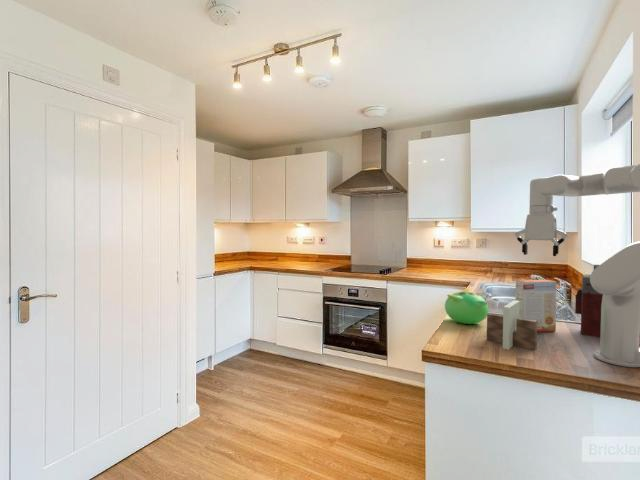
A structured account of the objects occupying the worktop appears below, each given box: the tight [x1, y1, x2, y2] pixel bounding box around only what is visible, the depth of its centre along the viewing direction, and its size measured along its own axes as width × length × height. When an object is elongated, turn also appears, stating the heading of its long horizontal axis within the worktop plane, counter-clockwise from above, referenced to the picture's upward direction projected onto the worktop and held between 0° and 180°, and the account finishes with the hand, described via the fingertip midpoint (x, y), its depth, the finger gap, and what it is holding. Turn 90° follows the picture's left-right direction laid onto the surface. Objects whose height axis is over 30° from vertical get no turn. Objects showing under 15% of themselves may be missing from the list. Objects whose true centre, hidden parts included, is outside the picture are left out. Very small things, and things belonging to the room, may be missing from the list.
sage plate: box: [502, 299, 519, 350], centre depth 127 cm, size 2×14×15 cm, turn 138°
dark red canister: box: [574, 264, 603, 338], centre depth 139 cm, size 9×11×28 cm
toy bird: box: [444, 289, 489, 325], centre depth 154 cm, size 18×17×15 cm
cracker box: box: [515, 279, 557, 333], centre depth 144 cm, size 14×6×21 cm, turn 92°
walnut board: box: [486, 312, 538, 351], centre depth 127 cm, size 16×2×10 cm, turn 48°
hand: (539, 255), depth 133 cm, fingers open, 9 cm apart
